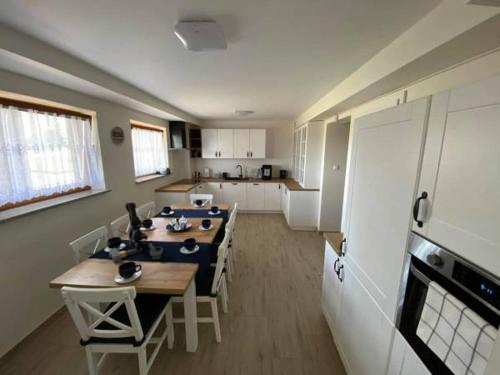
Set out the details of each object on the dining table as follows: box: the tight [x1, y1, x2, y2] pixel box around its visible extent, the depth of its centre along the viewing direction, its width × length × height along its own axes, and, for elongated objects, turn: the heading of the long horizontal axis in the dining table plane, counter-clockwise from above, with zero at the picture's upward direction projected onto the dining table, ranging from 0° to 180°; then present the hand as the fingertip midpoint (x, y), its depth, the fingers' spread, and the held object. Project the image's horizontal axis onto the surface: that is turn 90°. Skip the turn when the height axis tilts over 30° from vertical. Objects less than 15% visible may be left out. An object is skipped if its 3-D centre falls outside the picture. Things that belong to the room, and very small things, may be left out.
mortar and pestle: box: [148, 242, 164, 260], centre depth 171 cm, size 11×9×12 cm
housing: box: [108, 247, 122, 264], centre depth 169 cm, size 5×16×6 cm, turn 43°
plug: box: [119, 246, 143, 259], centre depth 176 cm, size 19×4×4 cm, turn 134°
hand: (138, 250), depth 181 cm, fingers closed on plug, 3 cm apart
